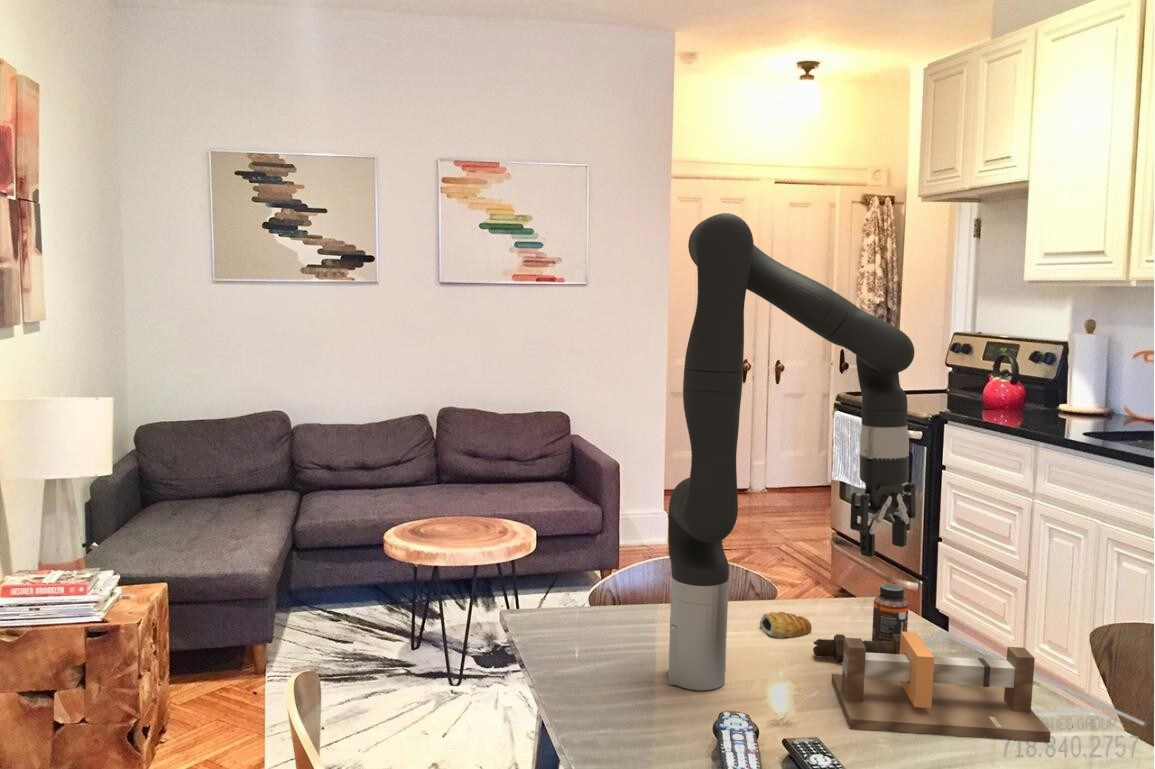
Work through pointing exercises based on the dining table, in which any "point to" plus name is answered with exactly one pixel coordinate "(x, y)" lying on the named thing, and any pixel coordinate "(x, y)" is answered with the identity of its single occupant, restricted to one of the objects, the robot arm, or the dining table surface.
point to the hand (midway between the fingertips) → (883, 550)
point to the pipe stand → (940, 695)
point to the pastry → (784, 625)
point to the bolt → (888, 647)
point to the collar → (918, 669)
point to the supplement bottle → (889, 613)
